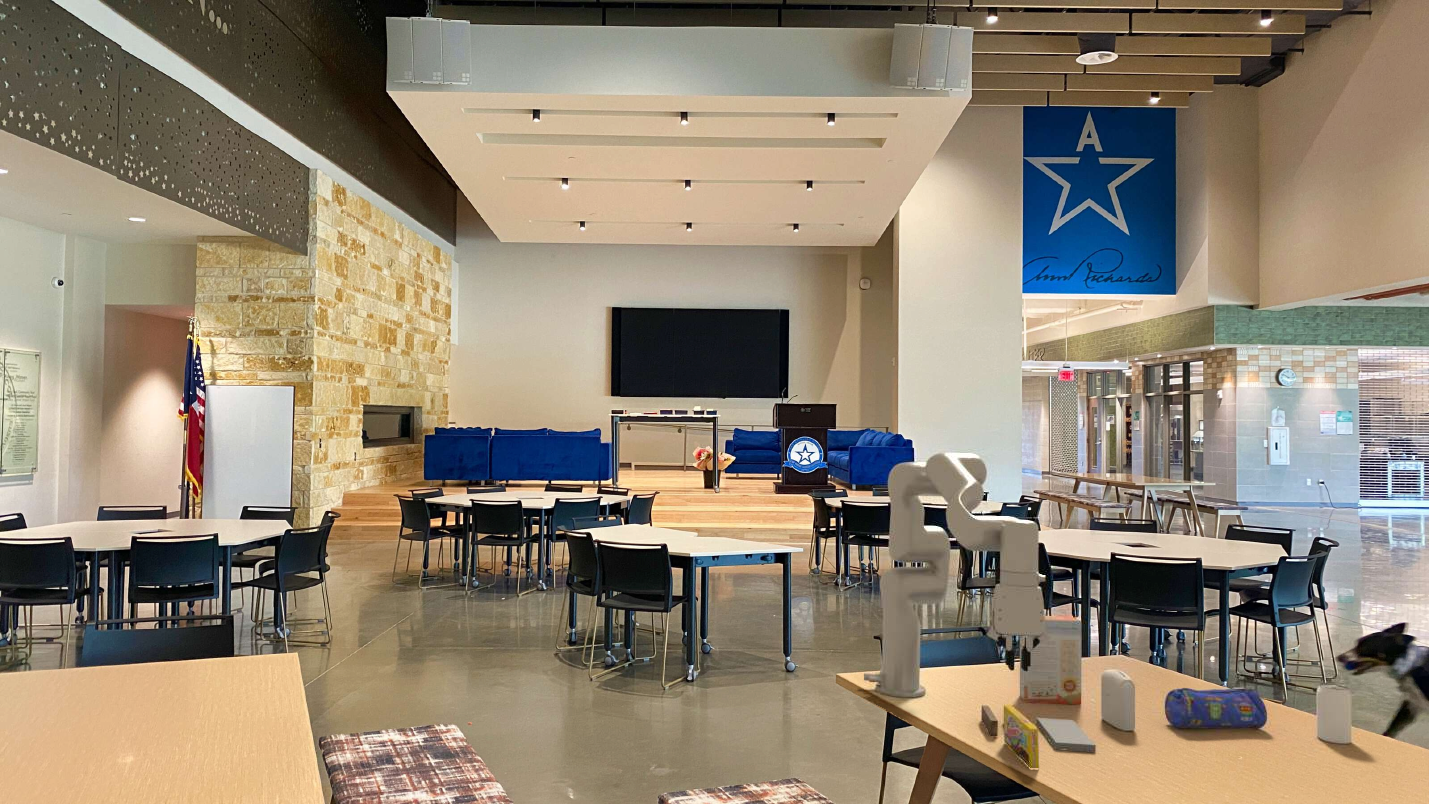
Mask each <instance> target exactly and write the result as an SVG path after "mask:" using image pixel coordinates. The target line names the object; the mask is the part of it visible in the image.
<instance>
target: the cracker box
mask: <svg viewBox="0 0 1429 804" xmlns="http://www.w3.org/2000/svg"><path fill="white" fill-rule="evenodd" d="M1045 628H1046V630H1047V633H1048V635H1049V640H1047V641H1045V642H1042V643H1039V644H1038V645H1037V646H1036V647H1035V648H1034V649H1033V650H1032V651H1031V665H1030V667H1029V666H1028V671H1024V670H1023V669H1022V668H1021V650H1022V649H1023V646H1024V636H1019V697H1020V698H1021V699H1022V701H1023V702H1025V703H1038V702H1047V703H1046V704H1060V703H1062V705H1065V704H1066V705H1076V704H1079V705H1082V621H1081V619H1078V618H1076V617H1073V616H1054V615H1045ZM1033 637H1037V636H1033Z"/></svg>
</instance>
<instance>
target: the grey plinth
mask: <svg viewBox="0 0 1429 804" xmlns="http://www.w3.org/2000/svg"><path fill="white" fill-rule="evenodd" d="M1036 725H1038V726H1039V727H1040V728H1039V727H1038V726H1037V727H1038V728H1039V730H1040V729H1041V730H1042V731H1041V730H1040V731H1041V732H1042V733H1043V735H1044V734H1045V735H1046V736H1047V737H1046V736H1045V735H1044V736H1045V737H1046V739H1047V738H1048V739H1049V740H1050V741H1049V740H1048V739H1047V740H1048V741H1049V742H1051V743H1052V744H1053V745H1052V744H1051V743H1050V744H1051V745H1052V747H1053V746H1054V747H1055V748H1056V749H1066V750H1065V751H1069V750H1078V751H1077V752H1083V751H1088V752H1087V753H1096V752H1097V750H1096V747H1097V745H1096V744H1095V742H1093V740H1092V739H1091V738H1090V737H1089V736H1088V735H1087V734H1086V733H1085V731H1083V729H1082V728H1081V727H1080V726H1079V725H1078V724H1077V723H1076V722H1075V721H1074V720H1073V719H1063V718H1062V719H1061V718H1046V717H1036ZM1054 747H1053V748H1054ZM1055 748H1054V749H1055ZM1056 749H1055V750H1056Z"/></svg>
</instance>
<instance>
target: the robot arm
mask: <svg viewBox="0 0 1429 804" xmlns="http://www.w3.org/2000/svg"><path fill="white" fill-rule="evenodd" d="M987 474H988V473H987V465H986V464H985V462H984V460H983V459H982V458H981V457H980V456H978V455H976V454H974V453H968V452H966V453H965V452H964V453H963V452H962V453H961V452H940V453H935V454H933V455H932V456H930V457H929V458H928V459H927V461H909V462H907V461H906V462H901V463H898V464H896V465H894V466H893V468H892V469H891V470H890V472H889V474H888V478H887V479H888V480H887V490H888V491H887V492H888V497H889V501H890V516H889V517H890V520H889V534H888V535H889V536H888V553H889V556H890V558H891V559H892V560H893V561H895V562H898V563H905V564H907V563H909V564H911V563H915V564H917V563H918V564H919V563H922V564H923V563H924V566H897V567H892V568H888V569H887V570H885V571H884V572H883V573H882V574H881V576H880V580H879V589H880V595H881V602H882V650H881V651H882V655H881V656H882V657H881V658H882V659H881V661H882V663H881V665H882V666H881V669H879V670H880V672H879V671H878V672H876V673H871V672H863V681H865V682H867V681H868V682H869V683H876V684H875V690H876V691H877V692H879V693H881V694H883V695H886V696H891V697H899V698H916V697H922V696H924V695H925V694H926V687H925V686H923V685H921V684H920V674H921V672H920V671H921V668H920V667H921V664H920V663H921V621H920V617H919V615H918V614H917V612H916V611H915V610H914V608H913V606H915V605H935V604H940V603H942V602H943V601H944V600H945V599H946V596H947V593H948V588H949V578H950V577H949V575H950V565H951V542H950V537H949V536H948V535H949V534H948V533H947V532H946V531H945V529H944V528H942V527H940V526H936V525H925V508H924V505H923V502H922V501H921V499H920V498H919V496H920V497H921V496H922V497H942V498H943V499H944V500H945V502H946V503H947V505H946V510H945V518H946V524H947V527H948V529H949V531H950V533H951V534H952V536H953V537H954V539H955V540H956V541H957V542H958V543H959V544H960V545H961V546H962V547H963V548H965V549H967V550H969V551H971V552H1000V553H999V555H1000V556H999V557H1000V558H999V569H1000V570H999V583H997V584H995V588H994V593H993V596H992V597H993V599H992V609H991V624H990V627H989V628H988V631H987V633H986V635H987V636H988V637H989V638H991V639H993V640H994V641H997V642H999V643H1000V644H1001V645H1002V646H1003V648H1005V649H1004V651H1005V656H1004V657H1005V658H1004V660H1005V661H1004V663H1005V665H1006V666H1007V668H1008V669H1009V670H1010V671H1013V672H1014V671H1015V660H1016V659H1015V657H1016V656H1015V651H1014V647H1013V636H1015V637H1016V636H1019V637H1020V636H1024V646H1023V649H1022V650H1021V668H1022V669H1023V670H1024V671H1028V666H1029V667H1030V665H1031V651H1032V650H1033V649H1034V648H1035V647H1036V646H1037V645H1038V644H1039V643H1042V642H1045V641H1047V640H1049V635H1048V633H1047V630H1046V628H1045V616H1046V614H1045V605H1044V597H1043V590H1042V587H1041V586H1039V584H1040V583H1042V582H1043V583H1045V582H1046V575H1042V574H1040V573H1039V526H1038V524H1037V522H1035V521H1032V520H1028V519H1019V518H1016V517H1014V516H1006V515H1005V516H1003V515H1002V516H1001V515H999V516H997V515H973V514H971V513H972V511H974V510H975V509H977V508H978V507H979V505H981V503H982V502H983V499H984V494H985V493H984V488H983V485H984V483H985V482H986V479H987ZM1033 636H1037V637H1033Z"/></svg>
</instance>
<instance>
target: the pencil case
mask: <svg viewBox="0 0 1429 804" xmlns="http://www.w3.org/2000/svg"><path fill="white" fill-rule="evenodd" d="M1164 715H1165V716H1166V717H1165V718H1166V720H1167V721H1168V723H1169V724H1170V725H1171V726H1173V727H1175V728H1189V729H1190V728H1202V729H1203V728H1204V729H1220V728H1221V729H1223V728H1224V729H1228V728H1234V729H1237V728H1241V729H1243V728H1252V729H1262V728H1263V727H1264V726H1265V725H1266V723H1267V721H1268V711H1267V708H1266V705H1265V703H1264V701H1263V700H1262V698H1261V697H1260V695H1259V693H1257V692H1256V691H1255V690H1254V689H1253V688H1251V687H1250V686H1246V687H1232V688H1227V689H1205V690H1204V689H1202V690H1201V689H1199V690H1197V689H1192V688H1188V687H1182V688H1175V689H1172V690H1170V691H1169V692H1168V693H1167V694H1166V697H1165V701H1164Z"/></svg>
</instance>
